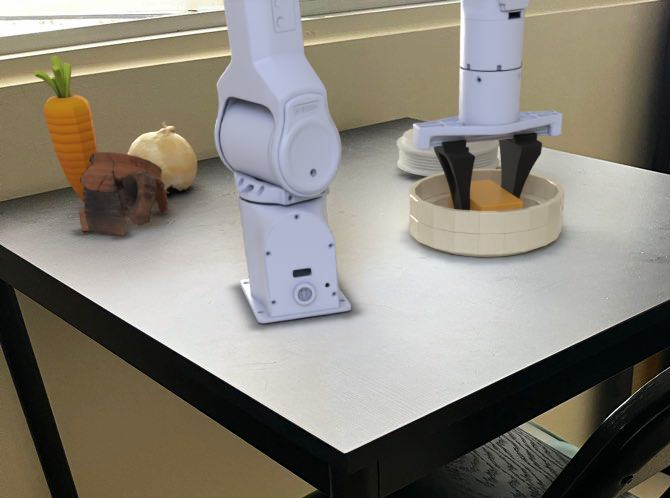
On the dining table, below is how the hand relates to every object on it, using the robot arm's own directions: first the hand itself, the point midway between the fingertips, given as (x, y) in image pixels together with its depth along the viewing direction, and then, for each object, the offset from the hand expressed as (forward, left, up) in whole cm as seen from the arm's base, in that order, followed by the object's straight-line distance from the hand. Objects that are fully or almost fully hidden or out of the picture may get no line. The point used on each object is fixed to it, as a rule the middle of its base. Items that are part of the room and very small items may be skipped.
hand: (485, 217), depth 88 cm
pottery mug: (+17, +34, -2) cm, 38 cm away
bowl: (0, 0, -2) cm, 2 cm away
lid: (+24, -5, -2) cm, 25 cm away
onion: (+29, +29, -2) cm, 41 cm away
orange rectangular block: (0, 0, -1) cm, 1 cm away
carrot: (+26, +38, -2) cm, 46 cm away
